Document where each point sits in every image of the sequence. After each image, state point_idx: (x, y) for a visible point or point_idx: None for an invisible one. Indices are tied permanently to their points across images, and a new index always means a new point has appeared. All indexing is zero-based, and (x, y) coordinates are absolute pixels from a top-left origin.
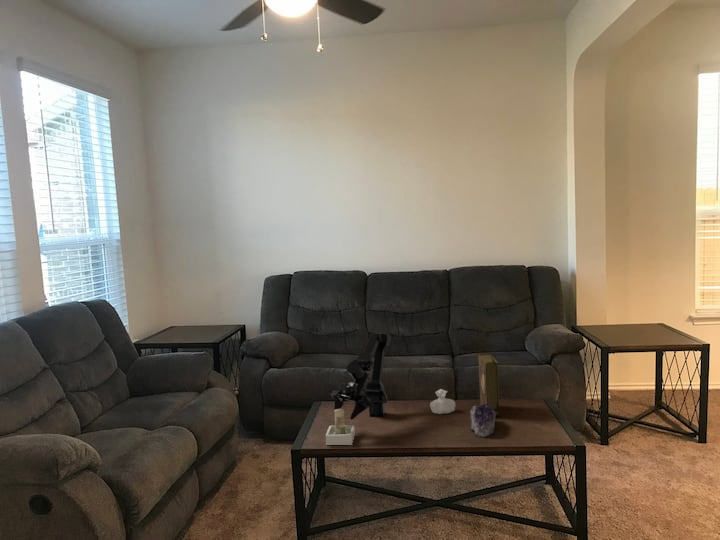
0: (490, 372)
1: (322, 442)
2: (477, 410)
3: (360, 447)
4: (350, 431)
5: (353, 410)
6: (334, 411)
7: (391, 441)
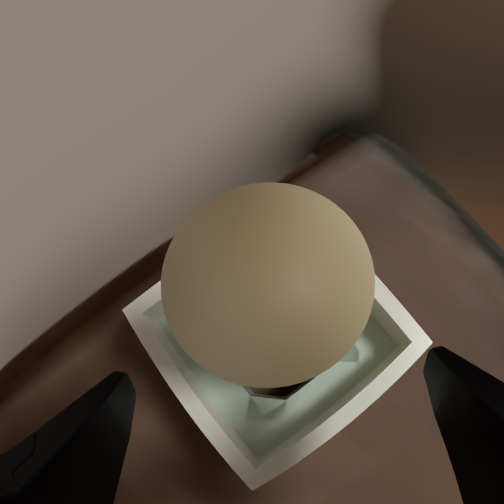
0: None
1: None
2: None
3: (103, 335)
4: (259, 437)
5: (56, 442)
6: (309, 193)
7: None
